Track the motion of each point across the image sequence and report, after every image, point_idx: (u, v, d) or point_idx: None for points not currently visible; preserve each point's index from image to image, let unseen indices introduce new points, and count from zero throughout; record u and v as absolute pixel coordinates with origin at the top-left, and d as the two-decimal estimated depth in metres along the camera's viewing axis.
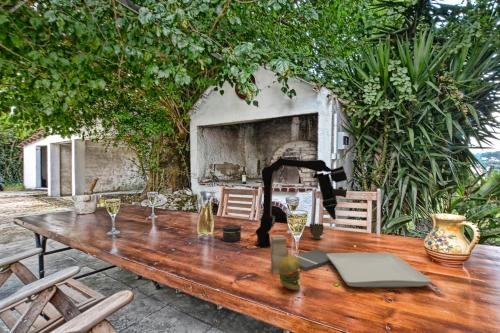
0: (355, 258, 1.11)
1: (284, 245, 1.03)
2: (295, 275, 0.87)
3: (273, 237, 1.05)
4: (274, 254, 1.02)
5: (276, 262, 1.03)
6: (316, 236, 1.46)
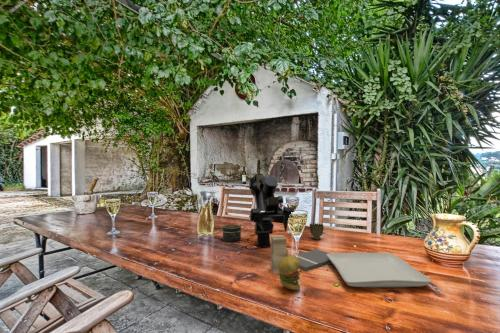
0: (355, 258, 1.11)
1: (284, 245, 1.03)
2: (295, 275, 0.87)
3: (273, 237, 1.05)
4: (274, 254, 1.02)
5: (276, 262, 1.03)
6: (316, 236, 1.46)
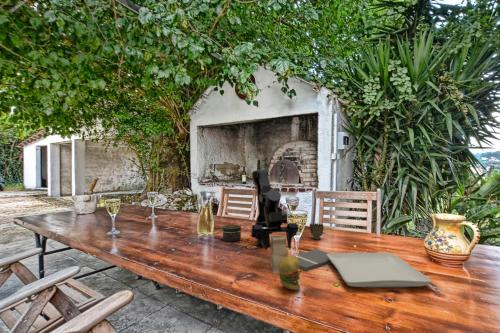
0: (355, 258, 1.11)
1: (284, 245, 1.03)
2: (295, 275, 0.87)
3: (273, 237, 1.05)
4: (274, 254, 1.02)
5: (276, 262, 1.03)
6: (316, 236, 1.46)
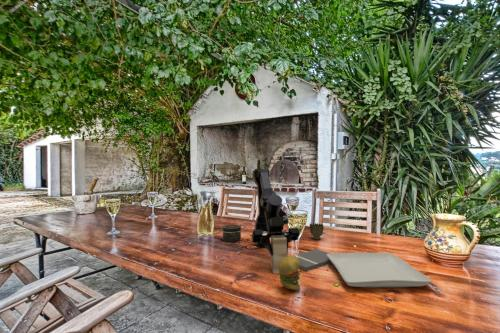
0: (355, 258, 1.11)
1: (284, 245, 1.03)
2: (295, 275, 0.87)
3: (273, 237, 1.05)
4: (274, 254, 1.02)
5: (277, 262, 1.03)
6: (316, 236, 1.46)
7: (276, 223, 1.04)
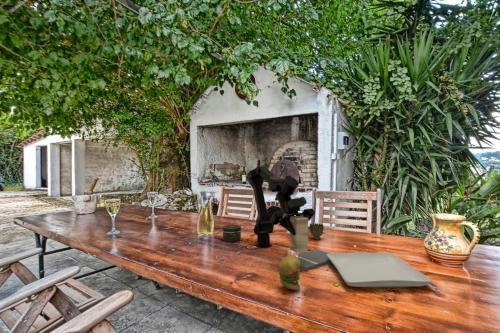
0: (355, 258, 1.11)
1: (306, 225, 1.06)
2: (295, 275, 0.87)
3: (295, 217, 1.07)
4: (297, 233, 1.05)
5: (299, 241, 1.05)
6: (316, 236, 1.46)
7: (297, 204, 1.07)
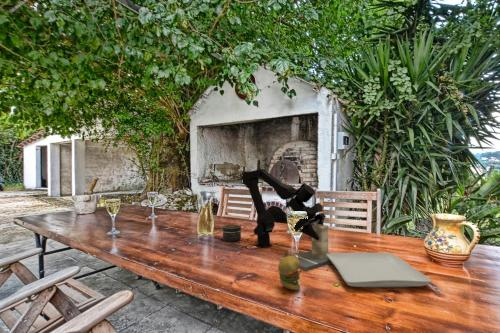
0: (355, 258, 1.11)
1: (327, 231, 1.16)
2: (295, 275, 0.87)
3: (317, 226, 1.15)
4: (322, 241, 1.13)
5: (323, 248, 1.14)
6: None
7: (319, 210, 1.16)
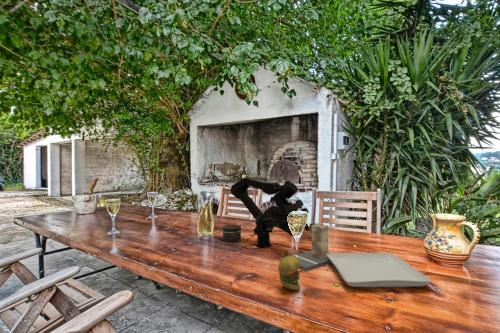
0: (355, 258, 1.11)
1: (327, 231, 1.16)
2: (295, 275, 0.87)
3: (317, 226, 1.15)
4: (322, 241, 1.13)
5: (323, 248, 1.14)
6: None
7: (298, 207, 1.20)
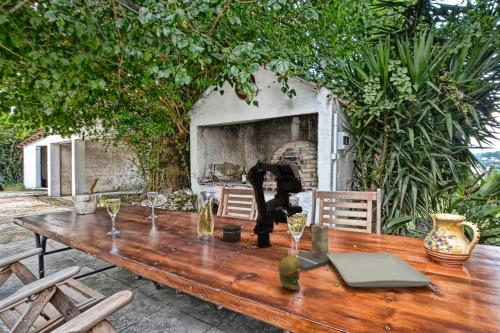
0: (355, 258, 1.11)
1: (327, 231, 1.16)
2: (295, 275, 0.87)
3: (317, 226, 1.15)
4: (322, 241, 1.13)
5: (323, 248, 1.14)
6: None
7: (268, 208, 1.19)
